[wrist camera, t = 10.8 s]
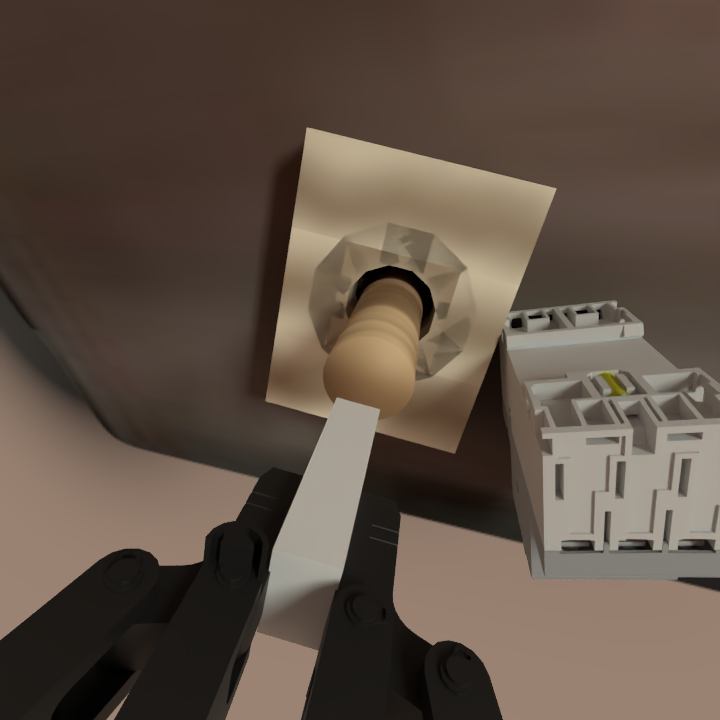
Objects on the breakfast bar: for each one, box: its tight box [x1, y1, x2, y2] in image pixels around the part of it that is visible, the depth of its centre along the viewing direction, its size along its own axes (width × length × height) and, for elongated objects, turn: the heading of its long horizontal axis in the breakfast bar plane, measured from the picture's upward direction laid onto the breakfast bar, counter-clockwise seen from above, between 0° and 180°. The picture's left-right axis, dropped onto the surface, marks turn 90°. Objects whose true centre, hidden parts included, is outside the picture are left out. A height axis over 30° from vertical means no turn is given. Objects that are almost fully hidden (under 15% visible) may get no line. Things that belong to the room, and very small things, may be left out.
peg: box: [323, 270, 423, 420], centre depth 26 cm, size 4×4×14 cm
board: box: [266, 127, 556, 454], centre depth 30 cm, size 18×14×4 cm
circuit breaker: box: [499, 300, 720, 580], centre depth 27 cm, size 8×14×15 cm, turn 10°
